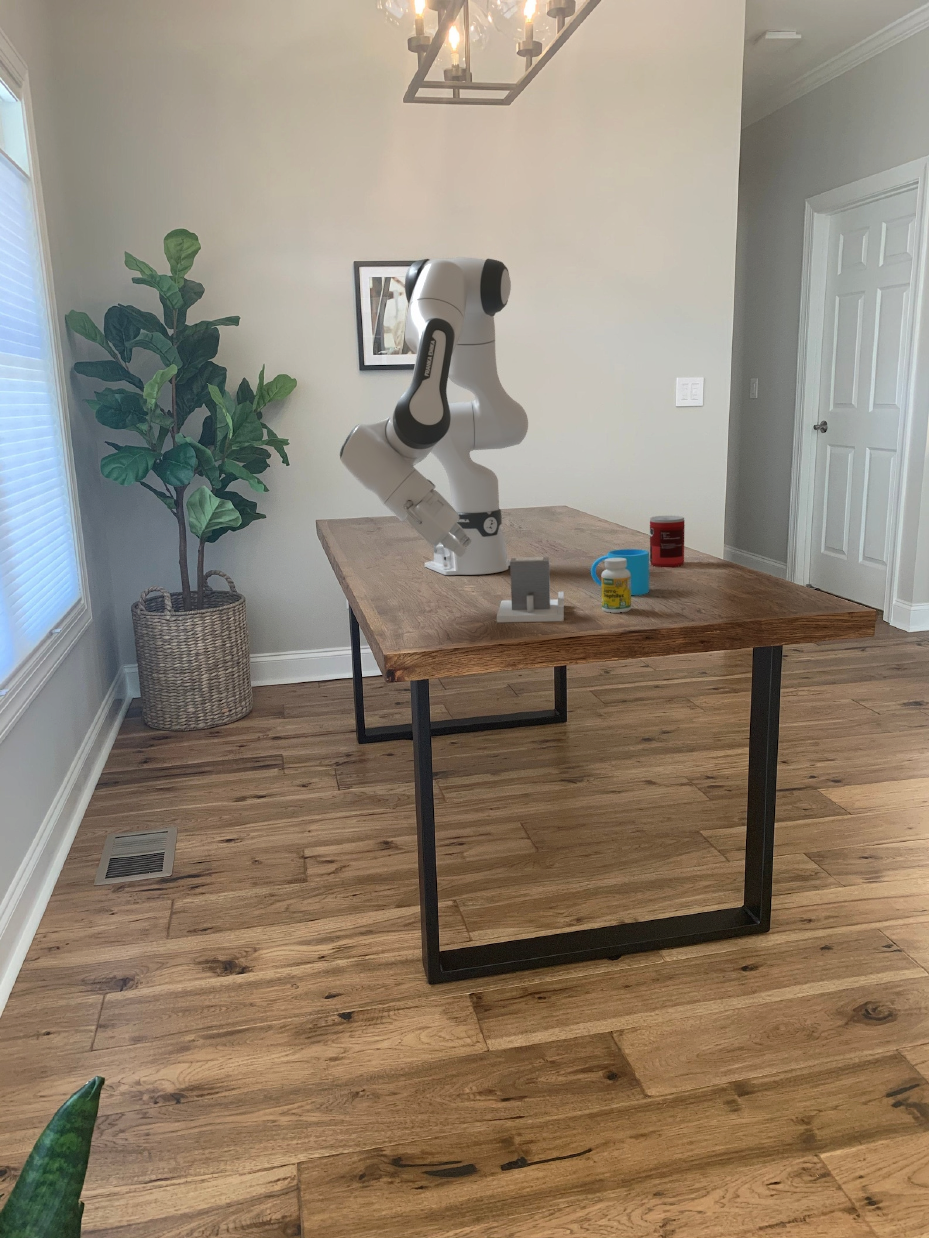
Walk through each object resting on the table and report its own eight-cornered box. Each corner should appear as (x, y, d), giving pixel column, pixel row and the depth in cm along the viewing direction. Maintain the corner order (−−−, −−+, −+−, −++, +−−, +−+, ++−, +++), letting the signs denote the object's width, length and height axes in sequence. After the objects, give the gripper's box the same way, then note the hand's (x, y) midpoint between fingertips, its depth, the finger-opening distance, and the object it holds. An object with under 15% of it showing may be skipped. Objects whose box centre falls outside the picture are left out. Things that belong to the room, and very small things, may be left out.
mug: (653, 589, 189) (653, 549, 187) (642, 597, 182) (642, 556, 180) (597, 586, 194) (596, 548, 192) (584, 594, 187) (584, 554, 185)
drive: (511, 610, 171) (510, 560, 169) (513, 605, 175) (511, 557, 172) (549, 609, 170) (548, 559, 168) (550, 604, 174) (549, 556, 172)
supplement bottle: (633, 607, 173) (633, 557, 171) (627, 614, 169) (627, 562, 166) (605, 606, 175) (604, 556, 173) (598, 612, 171) (598, 561, 168)
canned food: (662, 560, 220) (662, 514, 217) (691, 564, 214) (691, 516, 212) (642, 565, 215) (642, 518, 212) (671, 569, 209) (671, 520, 207)
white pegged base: (496, 622, 167) (495, 599, 166) (501, 606, 179) (501, 585, 178) (563, 621, 165) (563, 598, 164) (563, 605, 178) (563, 583, 177)
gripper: (413, 493, 159) (472, 547, 161) (431, 478, 179) (483, 527, 180) (389, 519, 161) (448, 572, 163) (409, 502, 181) (461, 550, 182)
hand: (466, 548), depth 172 cm, fingers open, 8 cm apart
